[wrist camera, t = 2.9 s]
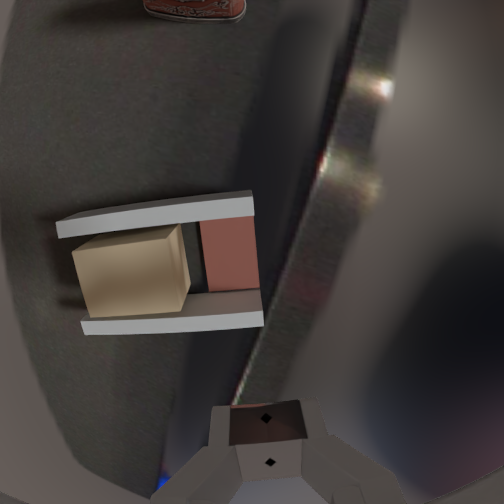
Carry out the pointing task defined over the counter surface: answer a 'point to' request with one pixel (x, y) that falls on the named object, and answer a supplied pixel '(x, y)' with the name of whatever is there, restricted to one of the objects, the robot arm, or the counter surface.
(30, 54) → the counter surface
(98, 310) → the maple block
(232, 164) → the counter surface
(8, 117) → the counter surface
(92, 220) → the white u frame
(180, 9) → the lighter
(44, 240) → the counter surface
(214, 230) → the trap pad
